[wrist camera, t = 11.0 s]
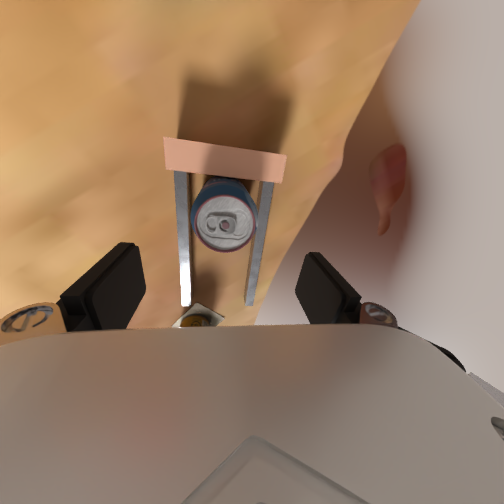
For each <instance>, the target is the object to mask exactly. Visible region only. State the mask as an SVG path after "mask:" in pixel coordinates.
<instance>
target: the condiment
mask: <svg viewBox="0 0 504 504" xmlns="http://www.w3.org/2000/svg"><path fill="white" fill-rule="evenodd" d="M199 312H201V313H199ZM224 319H225V318H223V317H222V316H220V315H218V314H216V313H215V312H213V311H211V310H210V309H208V308H206V307H204V306H203V305H200V304H199V303H196V304H195V305H194V306H192V307H191V309H189V310H188V311H187V312H186V313H185V314H184V315H183V316H182V317H181V318H180V319H179V320H178V321H177V322H176V323H175V324H174V325H173V326H172V327H173V328H175V327H209V326H217V325H218V324H219V323H220V322H222V321H223V320H224Z"/></svg>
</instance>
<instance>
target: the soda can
mask: <svg viewBox="0 0 504 504" xmlns="http://www.w3.org/2000/svg"><path fill="white" fill-rule="evenodd" d="M190 217H191V225H192V228H193V230H194V232H195V234H196V235H197V237H198V238H199V239H200V241H201V242H202V243H203V244H204V245H205V246H207V247H208V248H210V249H212V250H214V251H217V252H223V253H228V252H234V251H237V250H239V249H241V248H243V247H244V246H245V245H247V244H248V243H249V241H250V240H251V238H252V237H253V235H254V234H255V232H256V229H257V226H258V220H259V217H258V210H257V207H256V205H255V203H254V201H253V199H252V198H251V196H250V195H249V193H248V191H247V190H246V188H245V186H244V185H243V184H242V183H241V182H240V181H239V180H238V179H236V178H233V177H225V176H215V177H212V178H211V179H209V180H208V181H207V182H206V183H205V184H204V186H203V188H202V189H201V191H200V193H199V194H198V196H197V198H196V200H195V201H194V203H193V206H192V209H191V216H190Z"/></svg>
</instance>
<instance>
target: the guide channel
mask: <svg viewBox="0 0 504 504" xmlns="http://www.w3.org/2000/svg"><path fill="white" fill-rule="evenodd" d="M174 182H175V198H176V214H177V230H178V246H179V262H180V278H181V293H182V306H191V303H192V299H193V281H192V244H191V217H190V216H191V206H190V172H183V171H175V170H174ZM273 186H274V182H266V181H260V184H259V191H258V199H257V206H256V207H257V210H258V217H259V220H258V226H257V229H256V232H255V234H254V235H253V237H252V242H251V249H250V257H249V264H248V271H247V278H246V285H245V293H244V301H245V306H253V302H254V296H255V290H256V285H257V279H258V273H259V267H260V261H261V256H262V250H263V244H264V238H265V232H266V227H267V221H268V215H269V209H270V203H271V197H272V192H273Z"/></svg>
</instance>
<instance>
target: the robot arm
mask: <svg viewBox="0 0 504 504" xmlns="http://www.w3.org/2000/svg"><path fill="white" fill-rule="evenodd" d="M145 292H146V284H145V279H144V273H143V268H142V262H141V257H140V251H139V247H138V246H135V244H134V243H125V242H120V243H118V244H117V245H116V246H115V247H114V248H113V249H112V250H111V251H110V252H108V253H107V254H106V255H105V256H104V257H103V258H102V259H101V260H99V261H98V262H97V263H96V264H95V265H94V266H93V267H92V268H90V269H89V270H88V271H87V272H86V273H85V274H84V275H83V276H81V277H80V278H79V279H78V280H77V281H76V282H75V283H74V284H72V285H71V286H70V287H69V288H68V289H67V290H66V291H65V292H64V293H62V294H61V295H60V298H61V299H60V300H59V301H58V302H57V303H56V304H54V303H48V302H44V303H36V304H32V305H28V306H25V307H23V308H20V309H17V310H15V311H13V312H11V313H9V314H8V315H6V316H5V317H3V318H2V319H0V504H504V393H502V392H501V391H499V390H498V389H496V388H495V387H493V386H491V385H490V384H488V383H487V382H485V381H484V380H482V379H481V378H479V377H478V376H476V375H474V374H473V373H471V372H470V373H469V374H466V370H465V368H464V366H463V365H462V364H461V363H460V361H459V360H458V359H457V358H456V357H455V356H454V355H453V354H452V353H451V352H449V351H448V350H446V349H444V348H442V347H439V346H438V345H435V344H433V343H431V342H429V341H427V340H425V339H423V338H421V337H419V336H417V335H415V334H413V333H410V332H408V331H407V330H405V329H402V328H400V327H398V325H397V320H396V317H395V316H394V315H393V314H392V313H391V312H390V311H389V310H388V309H386V308H385V307H383V306H381V305H379V304H376V303H372V302H364V303H363V304H361V303H360V302H359V301H360V300H361V298H362V297H361V296H360V295H359V294H358V293H357V292H356V291H355V289H354V288H353V287H352V286H351V285H350V284H349V283H348V282H347V281H346V280H345V279H344V278H343V277H342V276H341V275H340V274H339V272H338V271H337V270H336V269H335V268H334V267H333V266H332V265H331V264H330V263H329V262H328V261H327V260H326V259H325V258H324V257H323V255H322V254H320V253H319V252H309V253H308V254H306V256H305V259H304V262H303V265H302V269H301V272H300V275H299V279H298V282H297V285H296V289H295V293H296V296H297V298H298V300H299V301H300V304H301V306H302V308H303V310H304V312H305V314H306V316H307V318H308V320H309V322H310V324H296V325H248V326H209V327H175V328H142V329H126V327H127V325H128V323H129V322H130V320H131V318H132V316H133V314H134V313H135V311H136V309H137V307H138V305H139V303H140V302H141V300H142V298H143V296H144V294H145Z"/></svg>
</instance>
